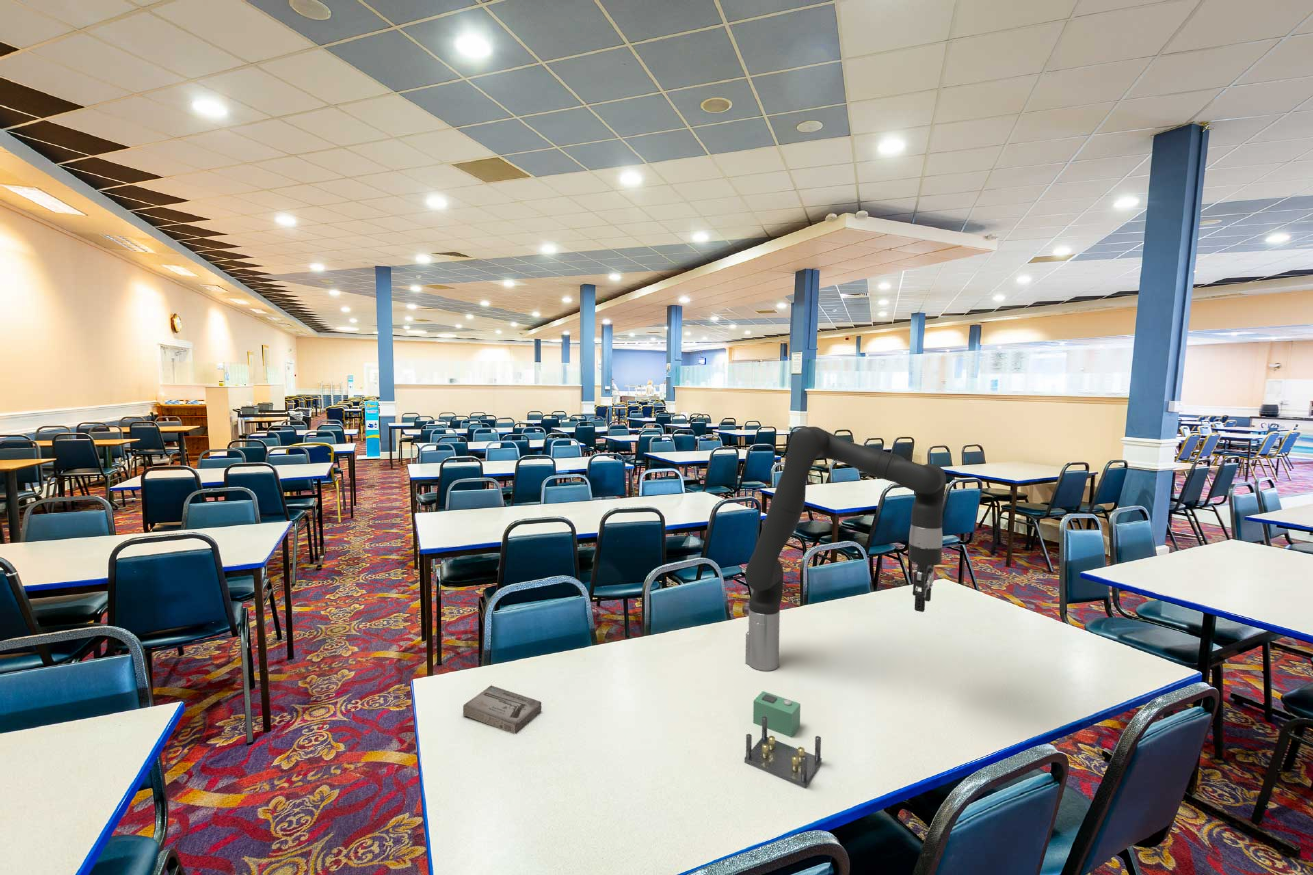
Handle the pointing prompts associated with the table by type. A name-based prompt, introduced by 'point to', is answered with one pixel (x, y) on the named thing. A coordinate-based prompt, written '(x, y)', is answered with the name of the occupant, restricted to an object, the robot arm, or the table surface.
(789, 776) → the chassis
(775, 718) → the module block
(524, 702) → the box
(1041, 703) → the table surface
